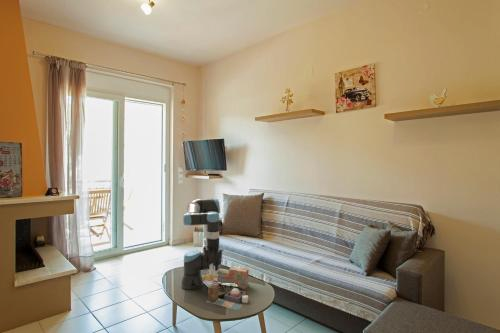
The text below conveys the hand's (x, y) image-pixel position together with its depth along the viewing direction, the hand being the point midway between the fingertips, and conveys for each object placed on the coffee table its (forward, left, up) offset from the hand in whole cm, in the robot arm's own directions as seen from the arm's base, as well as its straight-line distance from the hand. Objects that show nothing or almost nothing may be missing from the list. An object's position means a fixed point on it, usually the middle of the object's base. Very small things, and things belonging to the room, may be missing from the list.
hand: (213, 274), depth 181 cm
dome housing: (+11, +9, -16) cm, 22 cm away
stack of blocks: (0, +24, -17) cm, 30 cm away
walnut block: (0, 0, -16) cm, 16 cm away
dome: (+11, +9, -16) cm, 21 cm away
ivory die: (+18, +8, -16) cm, 26 cm away
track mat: (+8, 0, -16) cm, 18 cm away
